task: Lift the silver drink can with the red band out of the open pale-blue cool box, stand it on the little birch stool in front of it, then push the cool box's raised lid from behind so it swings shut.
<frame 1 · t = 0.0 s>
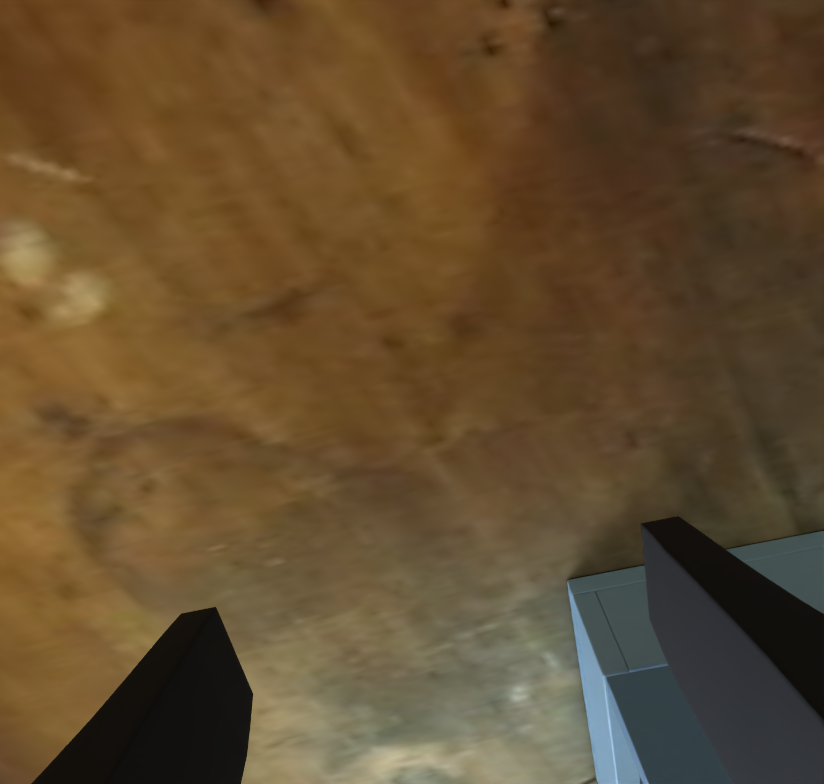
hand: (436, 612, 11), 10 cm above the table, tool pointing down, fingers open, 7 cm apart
cooler: (745, 656, 25), on the table
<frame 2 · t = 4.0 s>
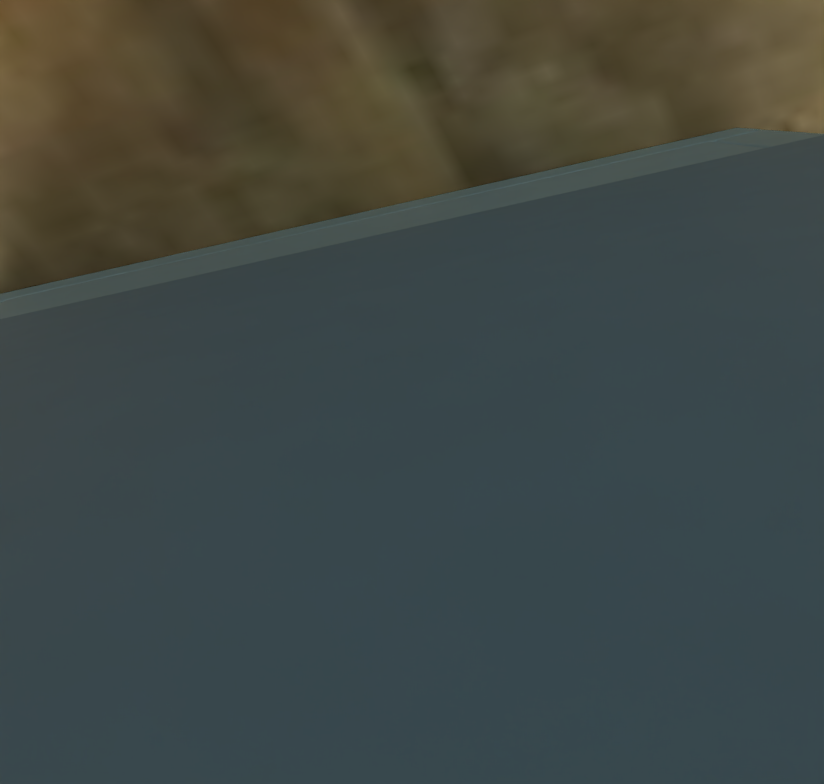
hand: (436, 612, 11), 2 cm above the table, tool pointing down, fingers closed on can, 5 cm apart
cooler: (418, 486, 13), on the table
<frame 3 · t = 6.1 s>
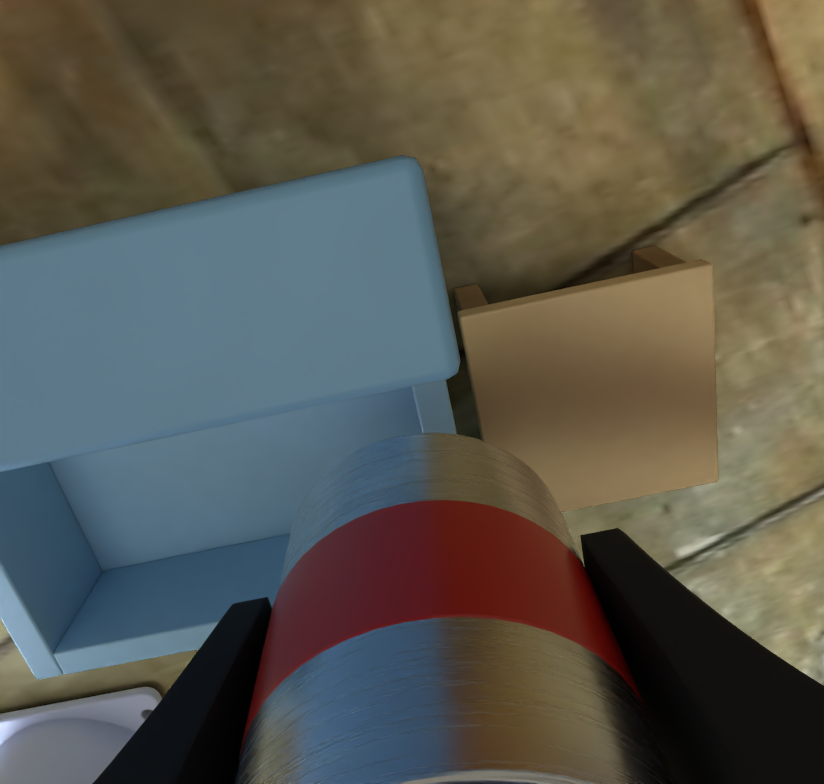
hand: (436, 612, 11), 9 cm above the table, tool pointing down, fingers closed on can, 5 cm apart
cooler: (231, 397, 20), on the table
can: (427, 552, 13), point 8 cm above the table, touching gripper
stool: (565, 360, 20), on the table
when the fingers open (5 cm above the table, at t = 8.5 s): can stays where it is, resting on stool.
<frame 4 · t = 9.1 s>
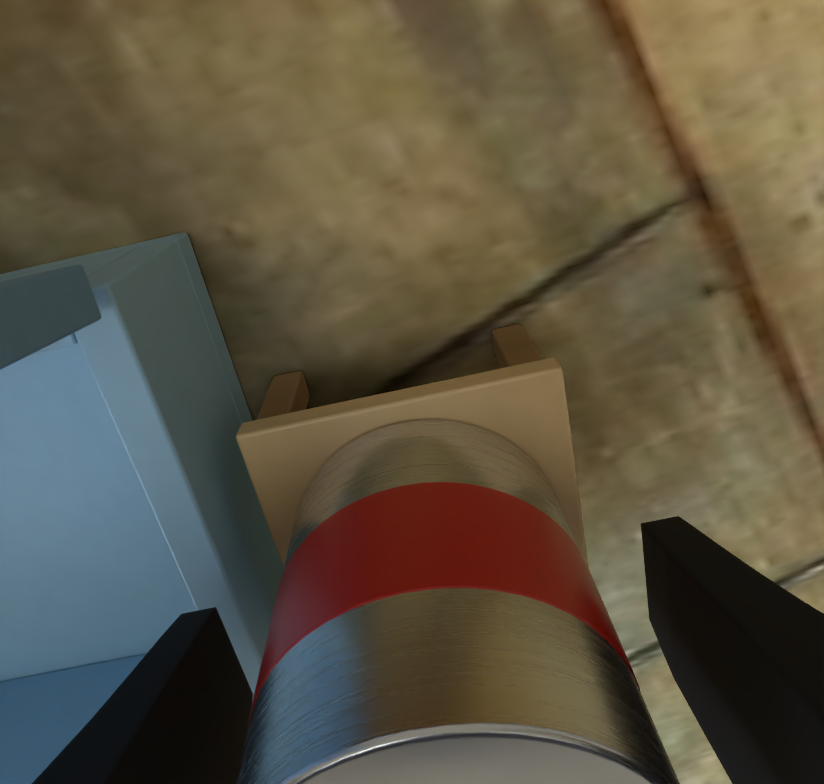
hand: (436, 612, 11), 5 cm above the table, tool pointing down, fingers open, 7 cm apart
cooler: (13, 504, 16), on the table
can: (427, 537, 13), point 3 cm above the table, touching stool
stool: (421, 458, 16), on the table
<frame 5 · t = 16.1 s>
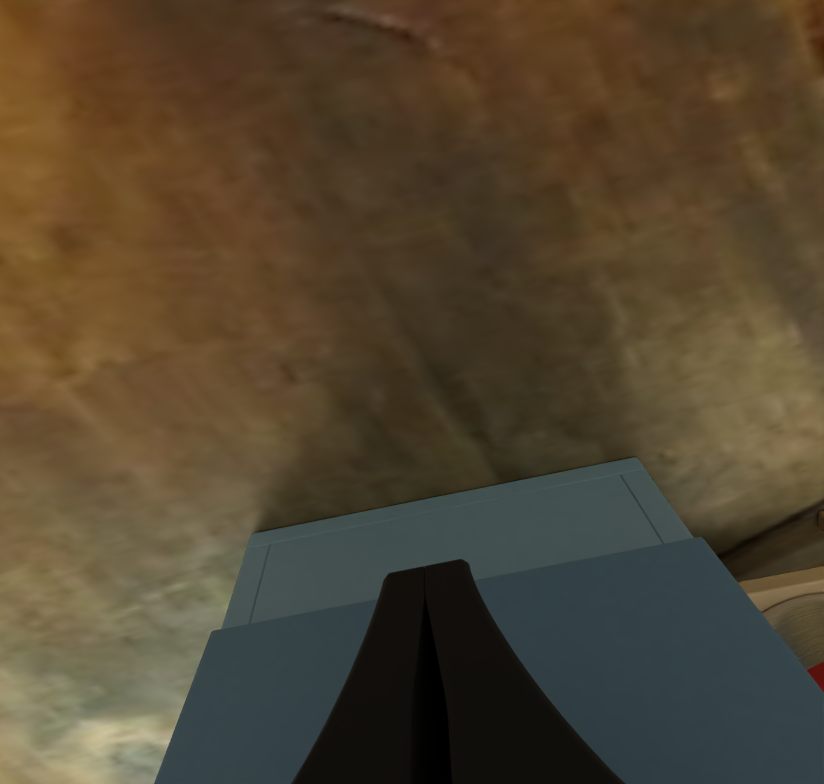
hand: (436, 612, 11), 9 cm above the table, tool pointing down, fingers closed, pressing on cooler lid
cooler: (469, 620, 23), on the table
can: (804, 659, 20), point 3 cm above the table, touching stool
stool: (752, 589, 23), on the table
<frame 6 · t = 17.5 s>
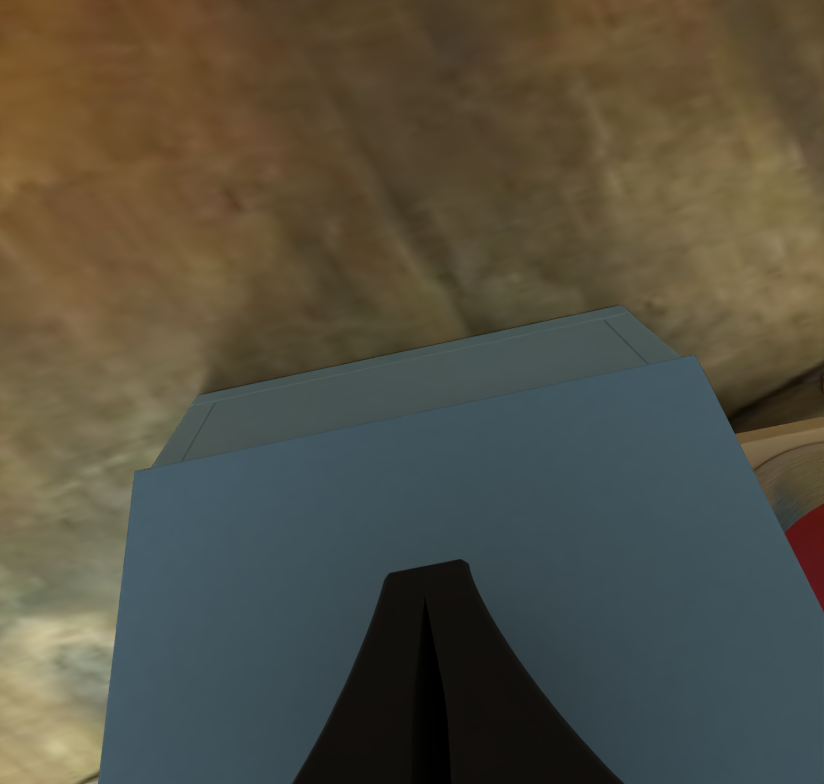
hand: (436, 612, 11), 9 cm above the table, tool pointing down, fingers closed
cooler: (440, 501, 21), on the table
can: (807, 524, 18), point 3 cm above the table, touching stool
stool: (750, 466, 21), on the table
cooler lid: (455, 688, 12), point 10 cm above the table, hinge at 58.6°
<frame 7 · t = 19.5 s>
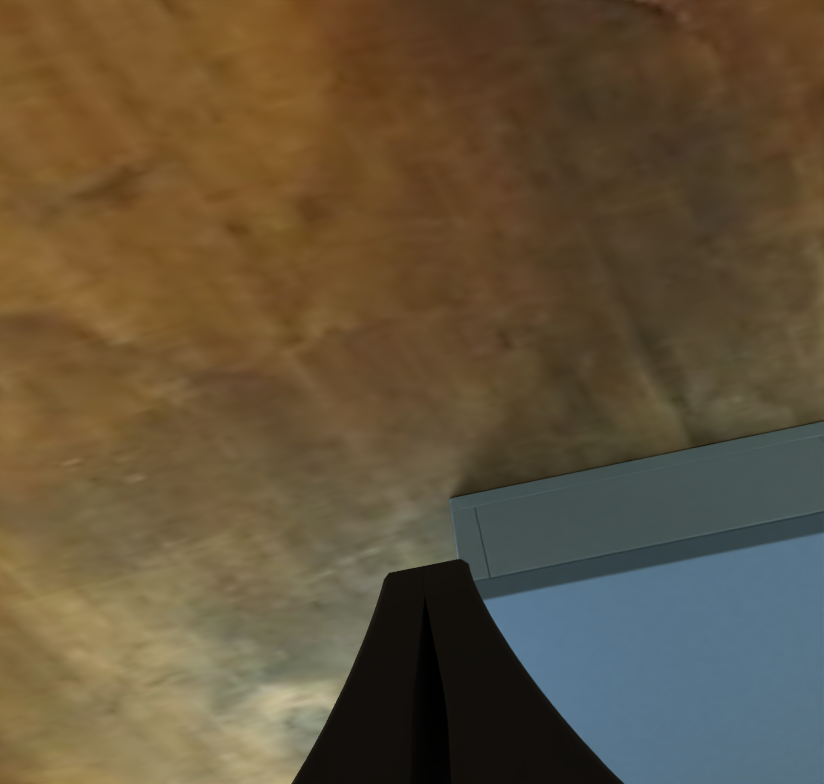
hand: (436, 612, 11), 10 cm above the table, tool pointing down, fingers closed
cooler: (646, 584, 24), on the table
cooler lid: (704, 696, 20), point 5 cm above the table, hinge at -0.3°
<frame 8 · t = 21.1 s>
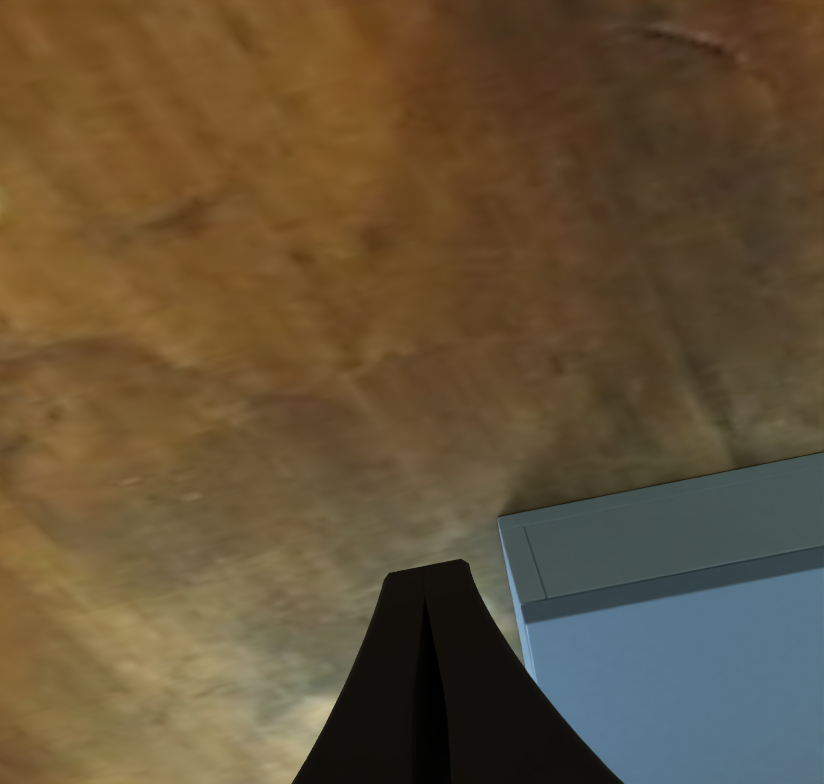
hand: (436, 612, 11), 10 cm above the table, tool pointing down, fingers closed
cooler: (686, 600, 25), on the table
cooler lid: (750, 713, 20), point 5 cm above the table, hinge at -0.3°
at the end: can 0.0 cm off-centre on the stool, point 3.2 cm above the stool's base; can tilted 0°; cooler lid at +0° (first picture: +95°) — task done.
